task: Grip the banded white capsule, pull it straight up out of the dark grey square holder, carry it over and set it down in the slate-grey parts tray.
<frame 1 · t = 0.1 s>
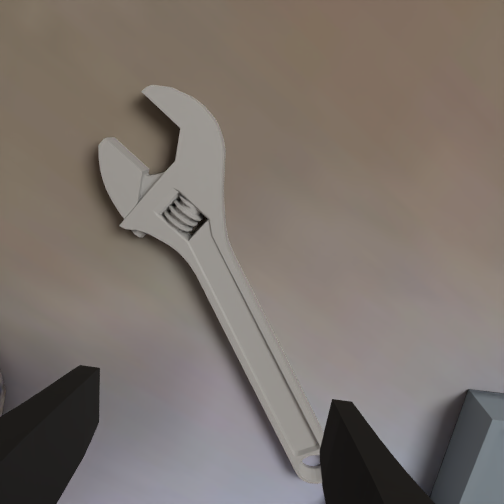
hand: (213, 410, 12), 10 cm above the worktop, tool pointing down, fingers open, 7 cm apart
adjustable wrench: (231, 309, 22), on the worktop
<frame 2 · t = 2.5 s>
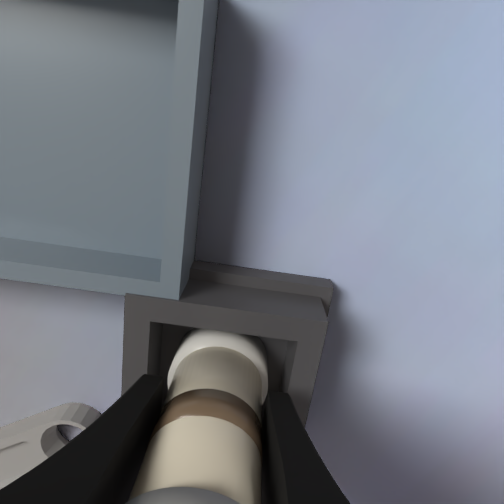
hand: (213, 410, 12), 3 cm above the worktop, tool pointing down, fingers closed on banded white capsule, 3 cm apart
parts tray: (38, 123, 12), on the worktop
banded white capsule: (221, 360, 14), point 1 cm above the worktop, touching dark grey square holder, gripper
dark grey square holder: (224, 348, 15), on the worktop
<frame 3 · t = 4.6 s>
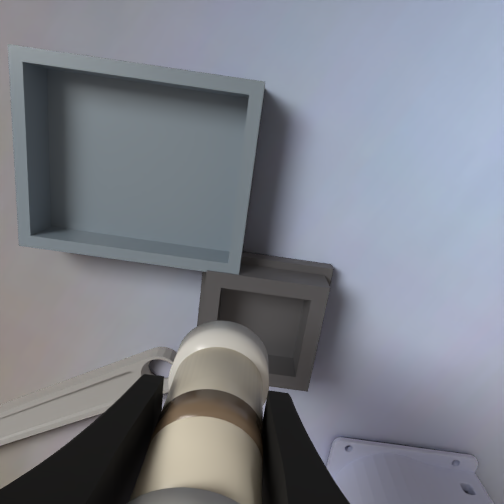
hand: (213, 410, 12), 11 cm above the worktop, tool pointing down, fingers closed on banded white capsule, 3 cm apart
parts tray: (148, 165, 20), on the worktop
adjustable wrench: (20, 419, 26), on the worktop
banded white capsule: (222, 361, 14), point 8 cm above the worktop, touching gripper
dark grey square holder: (260, 311, 22), on the worktop
when the fingers open (4 cm above the worktop, at t = 6.9 s): banded white capsule drops 1 cm, resting on parts tray.
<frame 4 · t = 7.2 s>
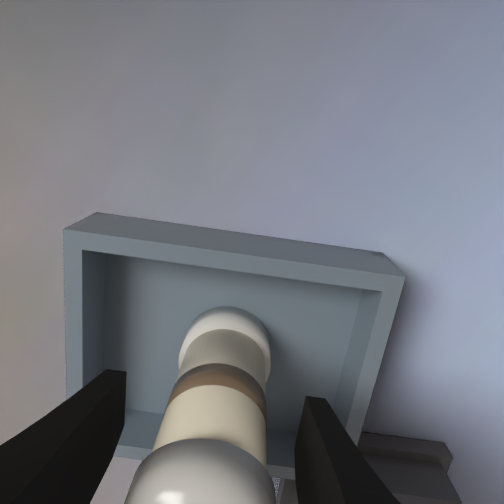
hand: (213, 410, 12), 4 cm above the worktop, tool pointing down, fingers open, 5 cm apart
parts tray: (226, 335, 16), on the worktop
banded white capsule: (227, 344, 15), point 1 cm above the worktop, touching parts tray
dark grey square holder: (351, 490, 18), on the worktop
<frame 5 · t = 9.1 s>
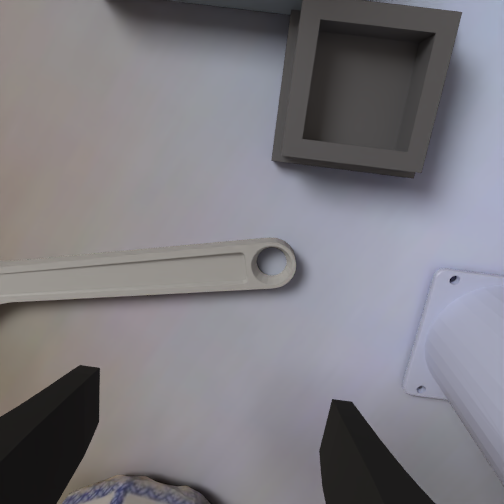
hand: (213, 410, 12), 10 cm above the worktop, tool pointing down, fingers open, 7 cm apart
adjustable wrench: (81, 280, 23), on the worktop
dark grey square holder: (353, 94, 18), on the worktop
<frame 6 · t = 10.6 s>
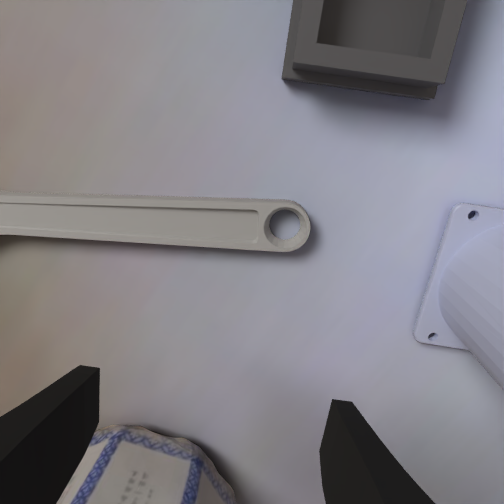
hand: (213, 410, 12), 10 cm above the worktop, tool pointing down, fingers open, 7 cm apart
adjustable wrench: (83, 223, 22), on the worktop
potted plant: (143, 492, 27), on the worktop
dark grey square holder: (371, 5, 17), on the worktop
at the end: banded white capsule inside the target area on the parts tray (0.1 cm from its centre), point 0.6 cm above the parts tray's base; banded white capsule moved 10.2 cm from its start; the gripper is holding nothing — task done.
